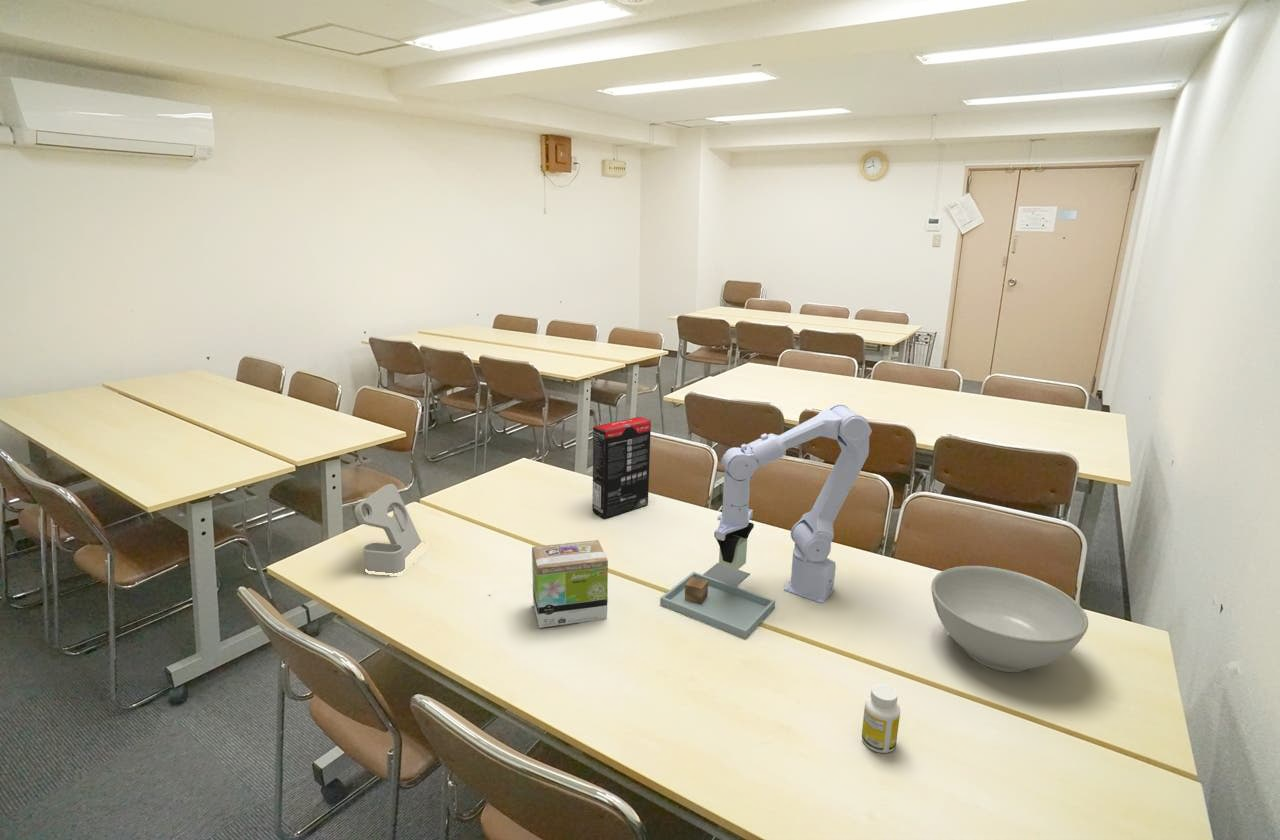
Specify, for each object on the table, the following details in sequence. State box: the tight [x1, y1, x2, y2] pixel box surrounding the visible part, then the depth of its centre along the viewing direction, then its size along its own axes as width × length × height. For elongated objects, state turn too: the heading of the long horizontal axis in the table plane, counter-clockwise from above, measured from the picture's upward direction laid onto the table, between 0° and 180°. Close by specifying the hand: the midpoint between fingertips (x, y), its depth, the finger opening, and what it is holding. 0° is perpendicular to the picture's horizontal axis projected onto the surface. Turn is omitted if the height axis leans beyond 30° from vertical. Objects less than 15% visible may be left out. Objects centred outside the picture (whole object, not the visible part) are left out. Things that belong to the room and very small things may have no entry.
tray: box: [659, 571, 776, 640], centre depth 145 cm, size 21×14×2 cm
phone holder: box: [354, 483, 422, 574], centre depth 163 cm, size 17×10×18 cm, turn 171°
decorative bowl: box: [930, 565, 1089, 673], centre depth 129 cm, size 27×27×12 cm
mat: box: [702, 562, 751, 587], centre depth 158 cm, size 9×9×1 cm
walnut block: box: [685, 577, 708, 605], centre depth 148 cm, size 4×4×4 cm
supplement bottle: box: [861, 683, 901, 754], centre depth 106 cm, size 5×5×10 cm
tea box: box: [531, 539, 609, 629], centre depth 141 cm, size 15×10×15 cm
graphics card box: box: [592, 416, 652, 519], centre depth 192 cm, size 17×7×27 cm, turn 130°
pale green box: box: [718, 535, 748, 571], centre depth 148 cm, size 4×4×6 cm
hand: (732, 556), depth 148 cm, fingers closed on pale green box, 5 cm apart
